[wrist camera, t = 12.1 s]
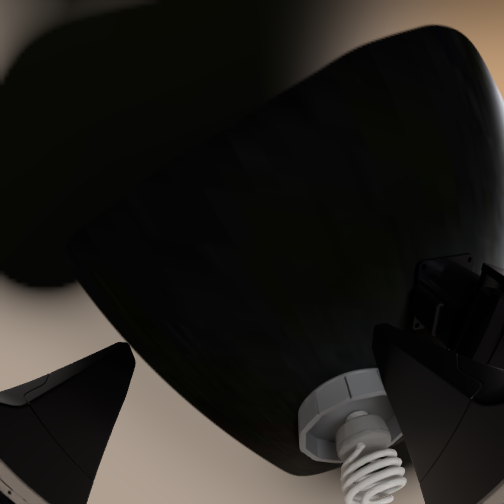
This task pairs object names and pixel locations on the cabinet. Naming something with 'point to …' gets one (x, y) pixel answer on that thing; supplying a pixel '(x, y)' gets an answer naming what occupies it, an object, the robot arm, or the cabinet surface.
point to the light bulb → (367, 460)
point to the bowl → (342, 411)
